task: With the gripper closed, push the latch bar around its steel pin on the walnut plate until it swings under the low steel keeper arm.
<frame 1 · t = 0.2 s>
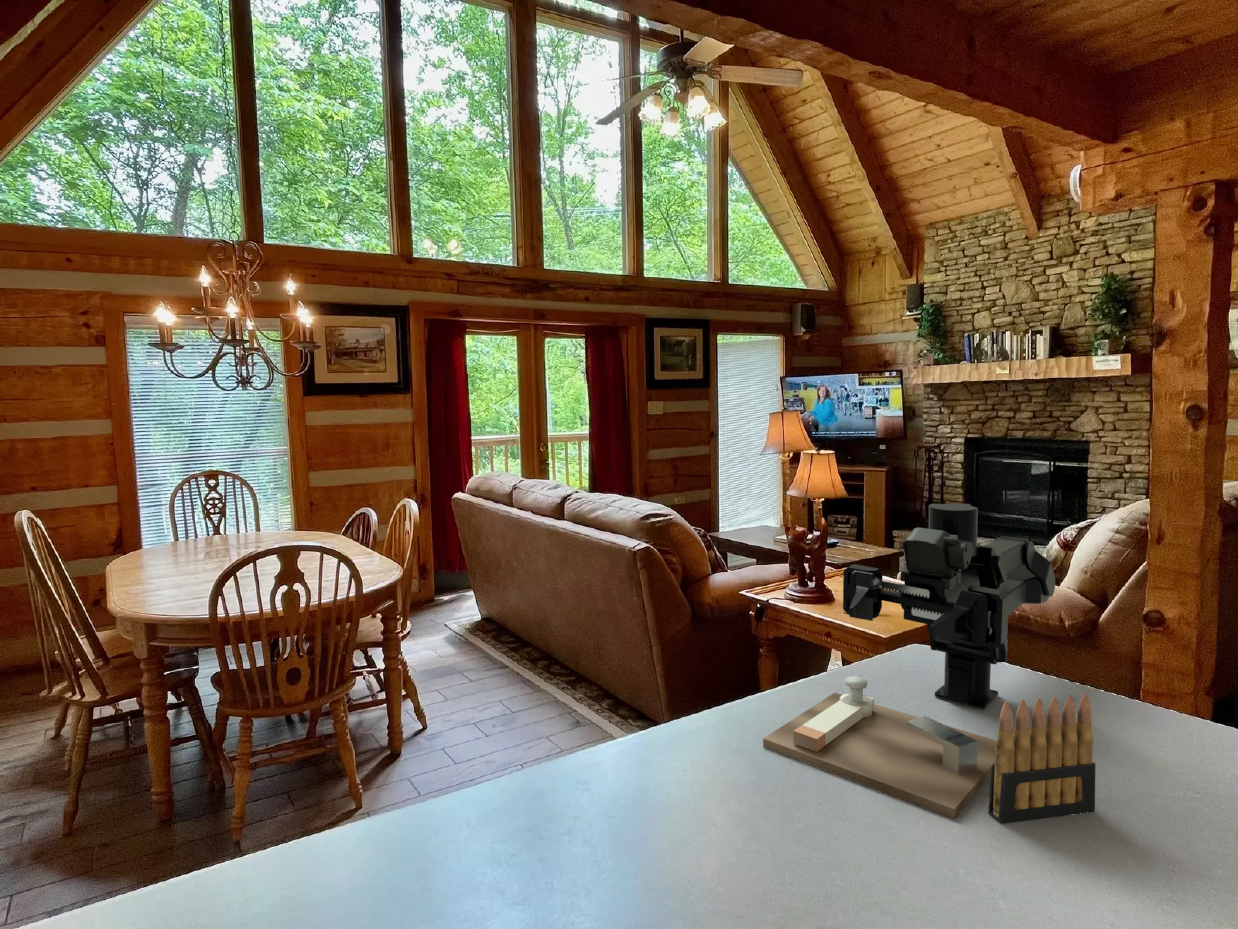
hand: (889, 621, 80), 17 cm above the kitchen counter, tool horizontal, fingers open, 9 cm apart
latch bar: (835, 709, 89), point 3 cm above the kitchen counter, hinge at 0.0°
base plate: (855, 720, 93), on the kitchen counter
ammunition clip: (1041, 814, 72), on the kitchen counter
keeper: (940, 744, 81), on the base plate, point 3 cm above the kitchen counter
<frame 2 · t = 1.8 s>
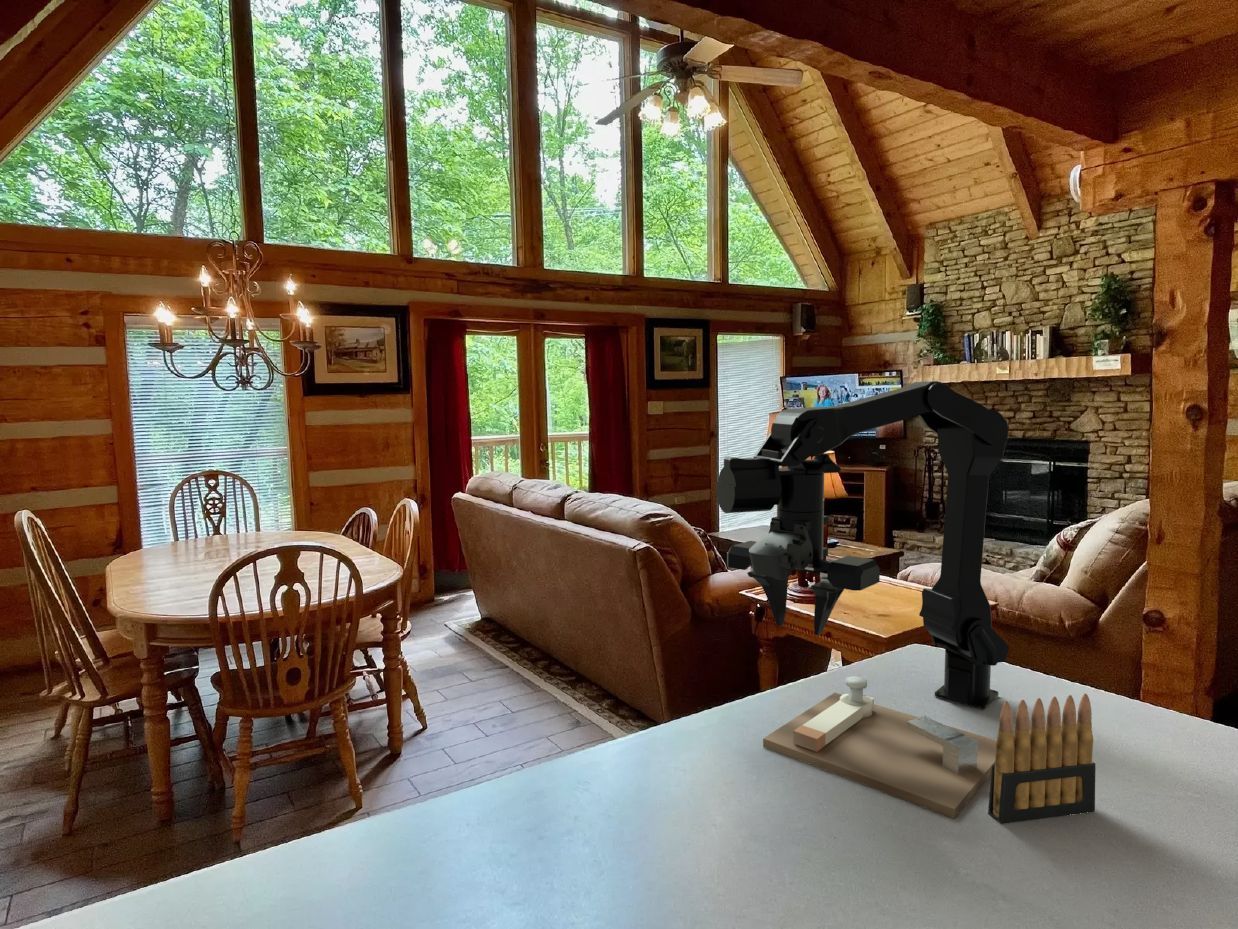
hand: (798, 629, 92), 12 cm above the kitchen counter, tool pointing down, fingers open, 5 cm apart
nothing on the kitchen counter moved.
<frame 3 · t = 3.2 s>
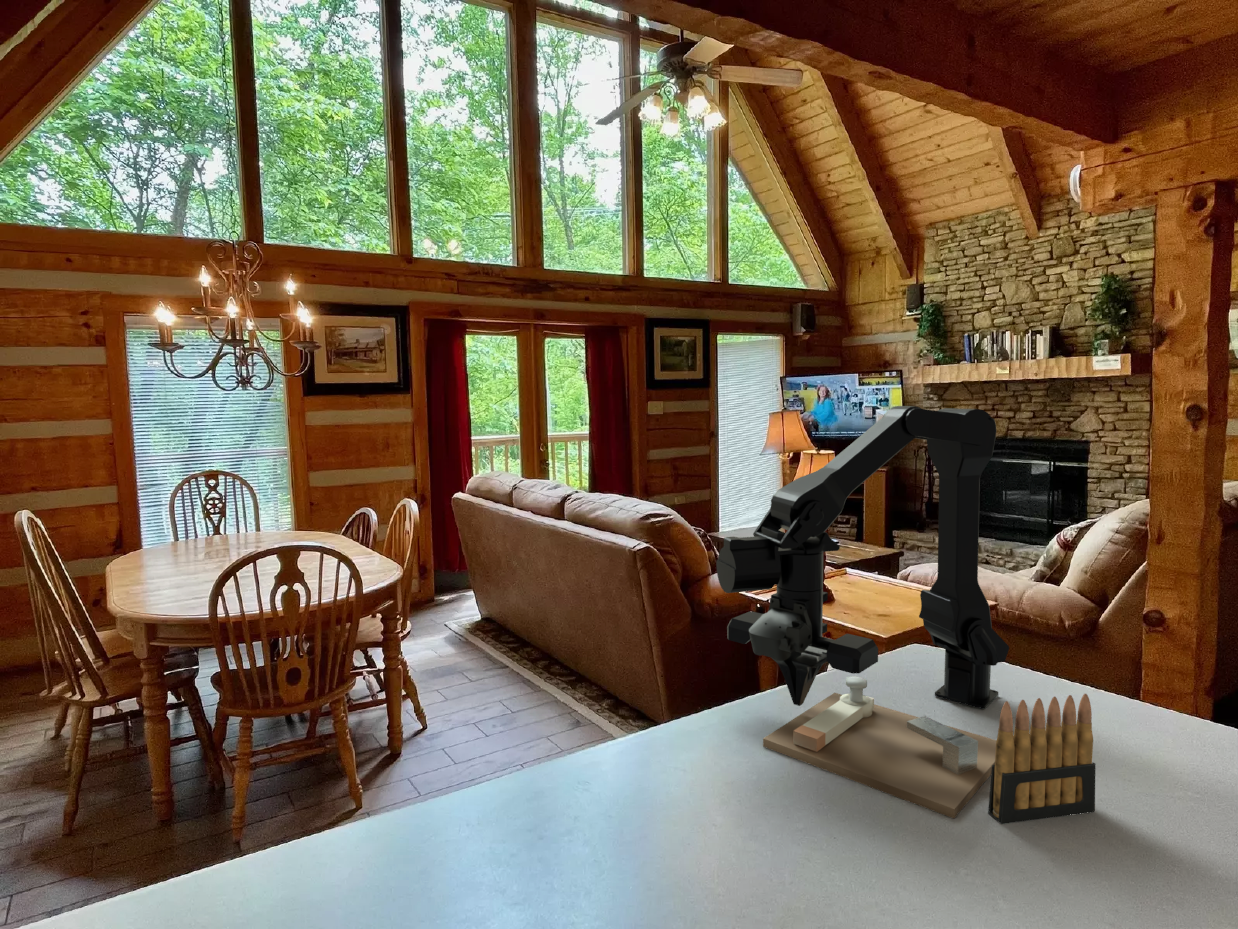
hand: (798, 704, 93), 2 cm above the kitchen counter, tool pointing down, fingers closed
nothing on the kitchen counter moved.
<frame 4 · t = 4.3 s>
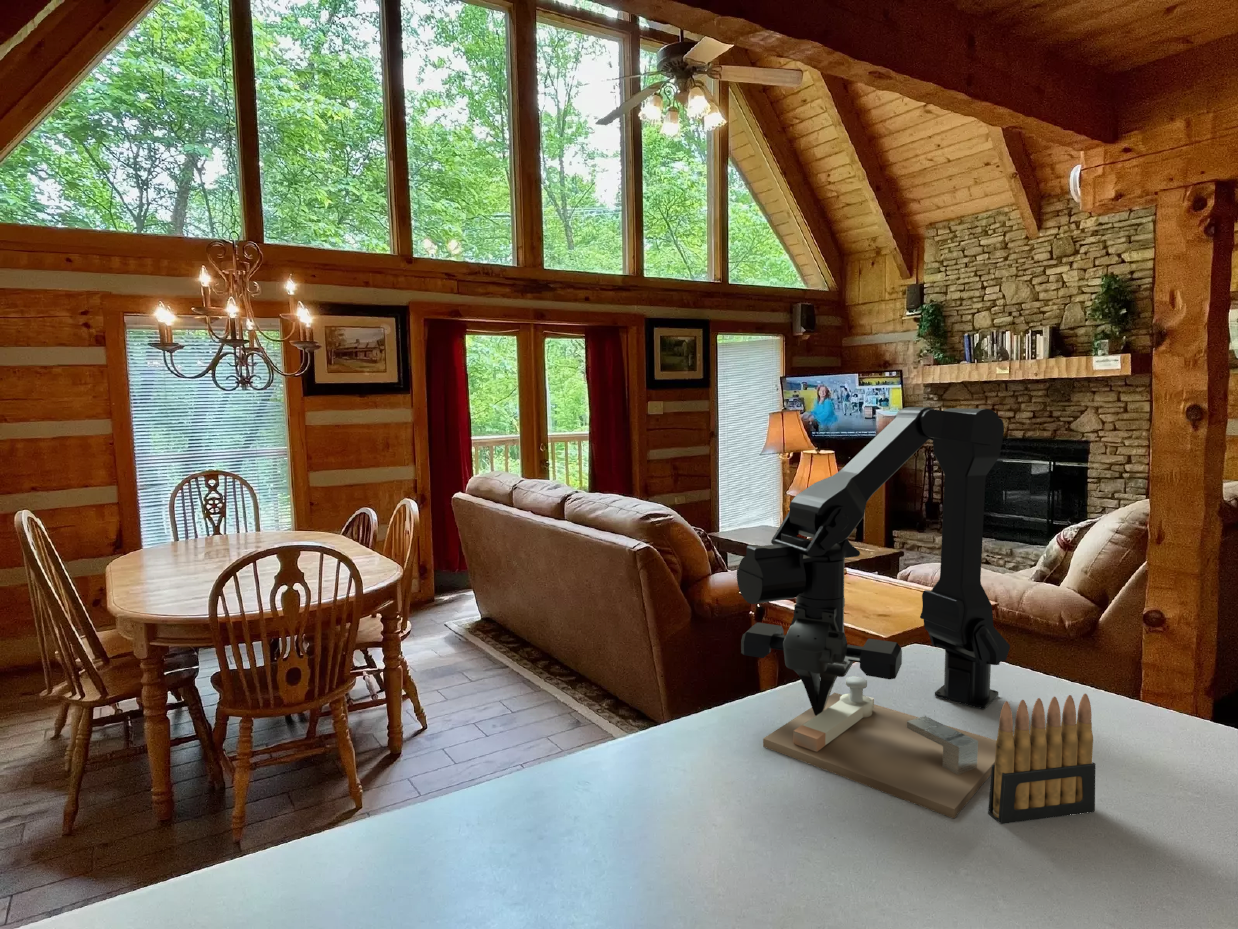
hand: (818, 714, 91), 2 cm above the kitchen counter, tool pointing down, fingers closed
latch bar: (835, 709, 89), point 3 cm above the kitchen counter, hinge at 0.0°, touching gripper
everything else where it was.
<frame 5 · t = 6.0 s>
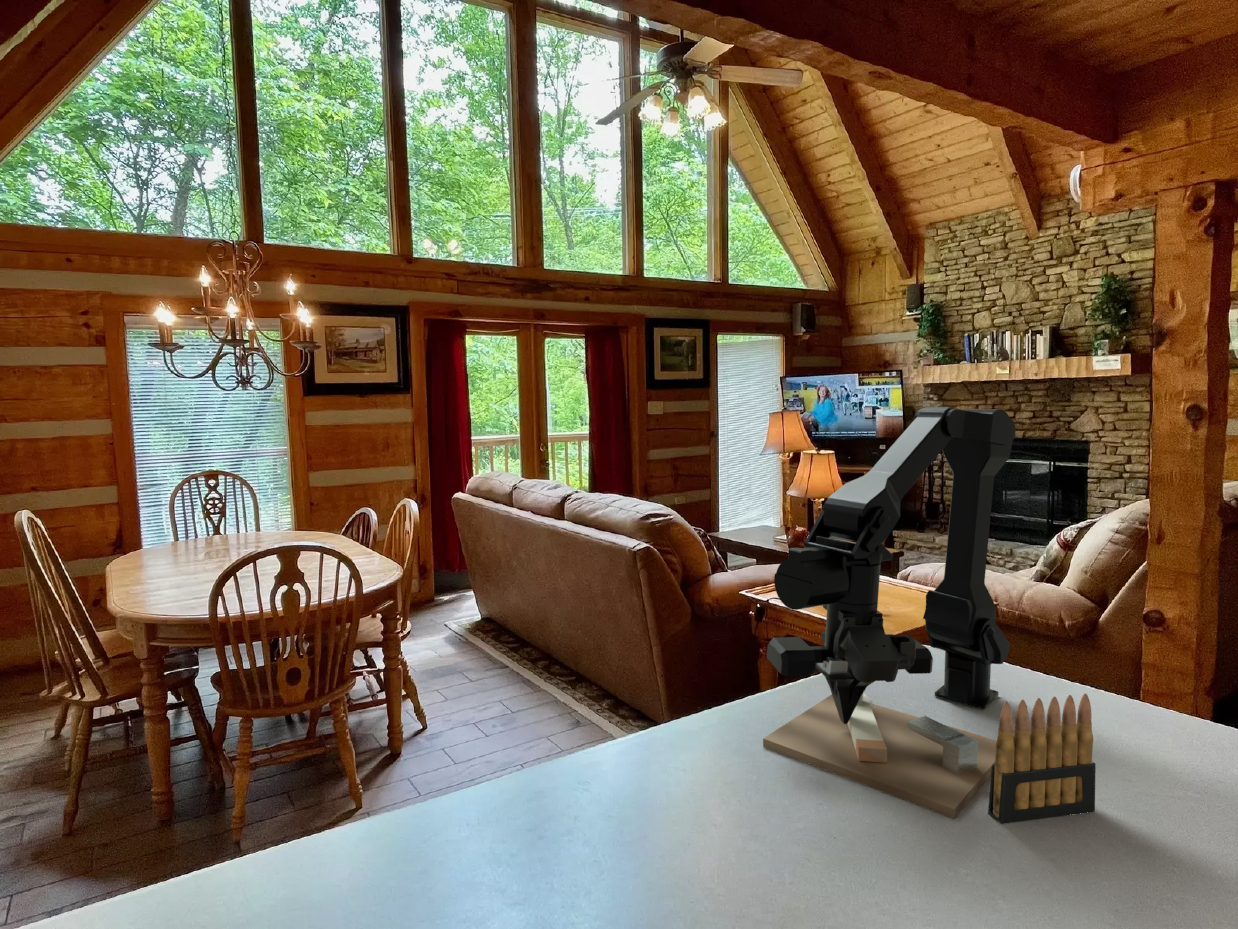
hand: (844, 722, 88), 2 cm above the kitchen counter, tool pointing down, fingers closed
latch bar: (862, 714, 87), point 3 cm above the kitchen counter, hinge at 33.5°, touching gripper
everything else where it was.
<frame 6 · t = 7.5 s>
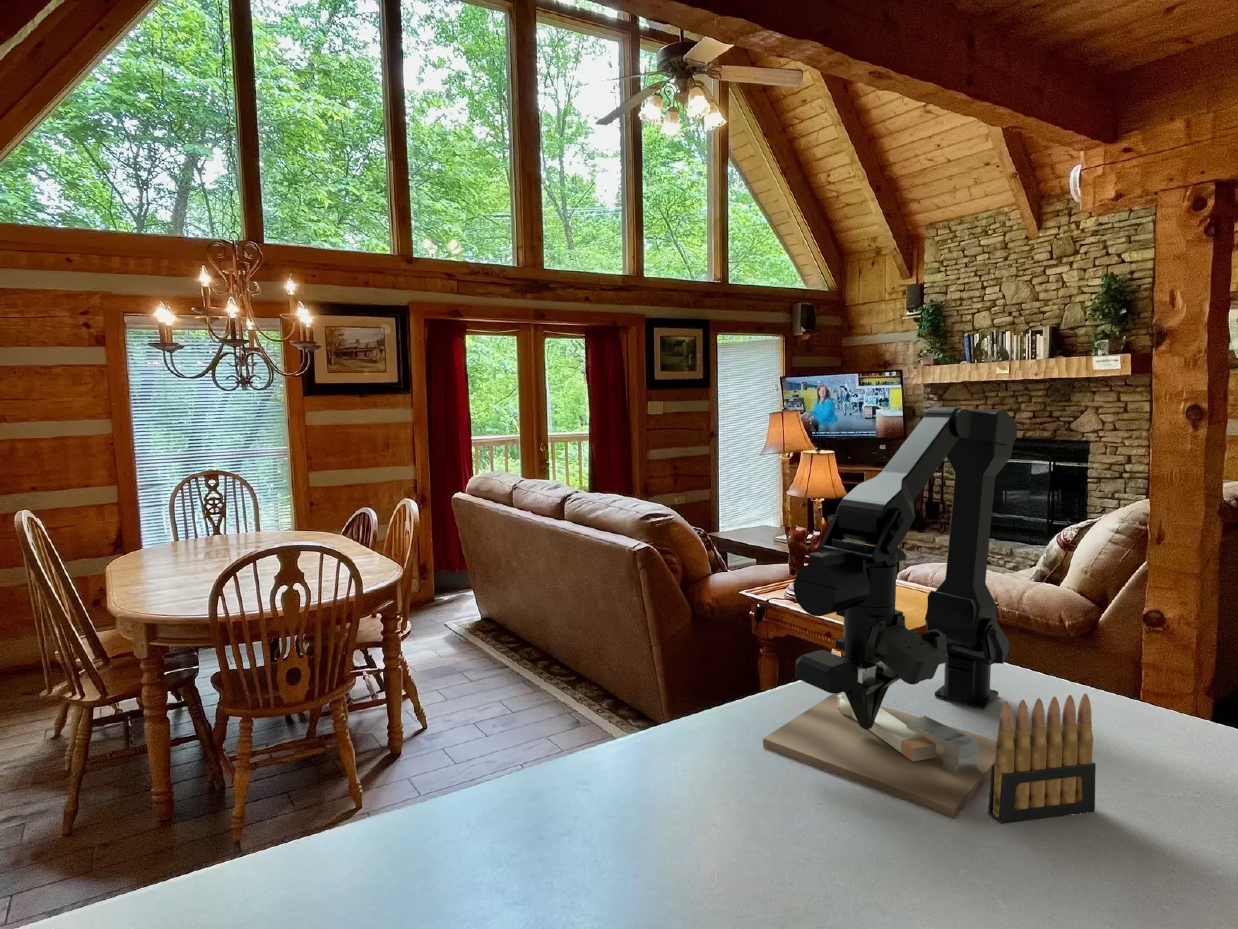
hand: (865, 728, 87), 2 cm above the kitchen counter, tool pointing down, fingers closed
latch bar: (882, 714, 88), point 3 cm above the kitchen counter, hinge at 59.7°
everything else where it was.
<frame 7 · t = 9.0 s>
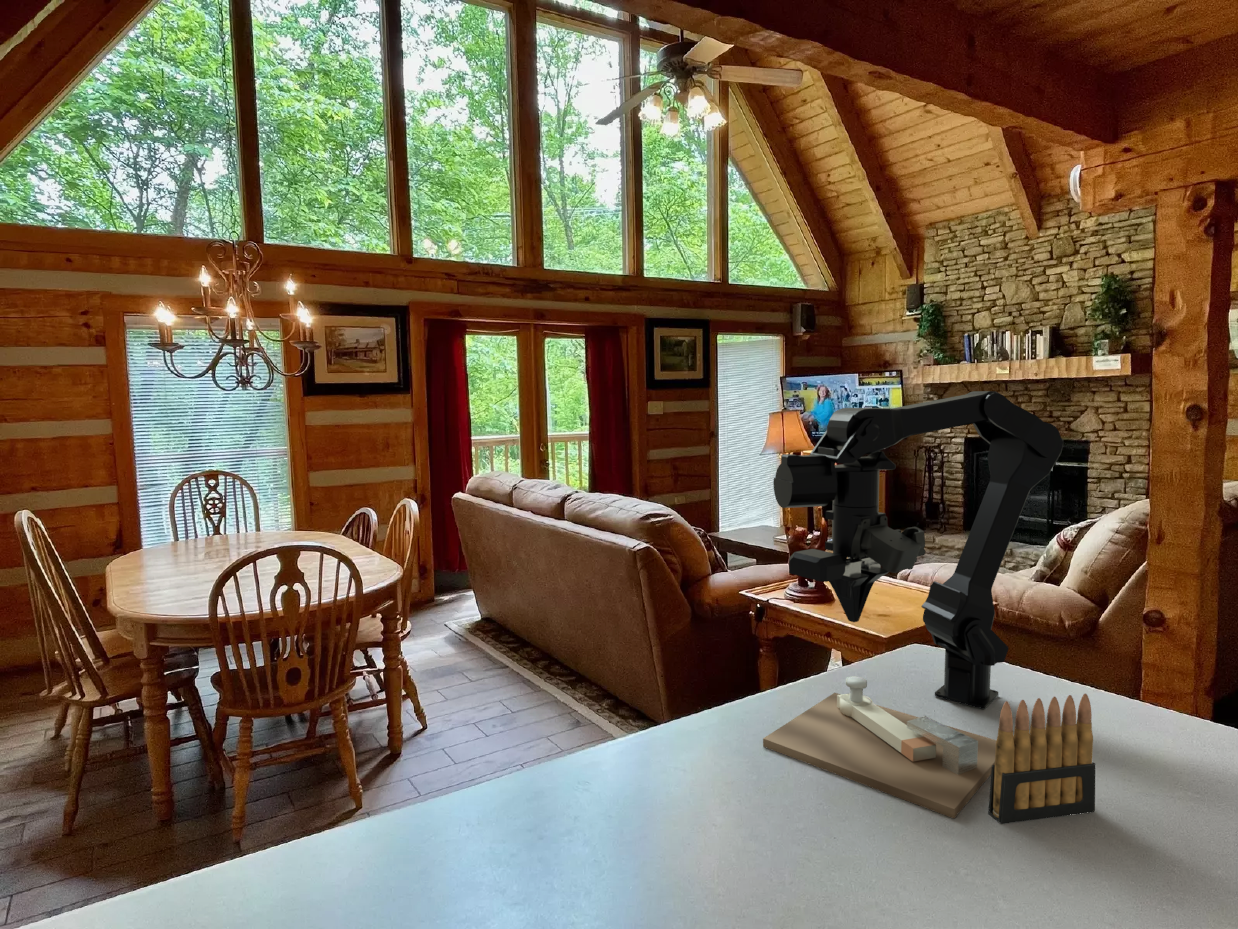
hand: (853, 621, 95), 12 cm above the kitchen counter, tool pointing down, fingers closed
nothing on the kitchen counter moved.
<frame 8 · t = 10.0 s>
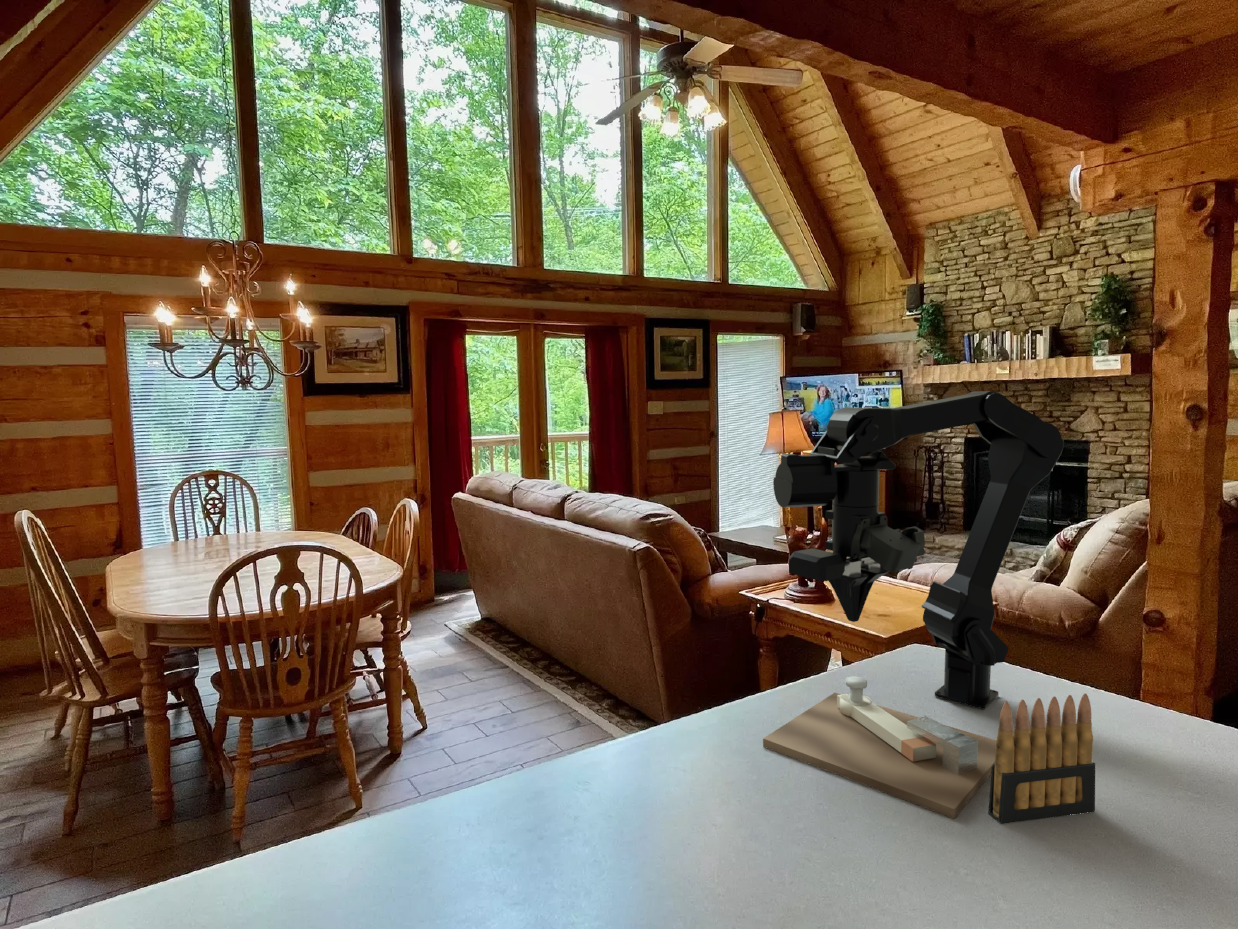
hand: (853, 620, 96), 12 cm above the kitchen counter, tool pointing down, fingers closed
nothing on the kitchen counter moved.
at the end: latch bar at +60° (first picture: +0°); ammunition clip moved 0.3 cm from its start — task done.
